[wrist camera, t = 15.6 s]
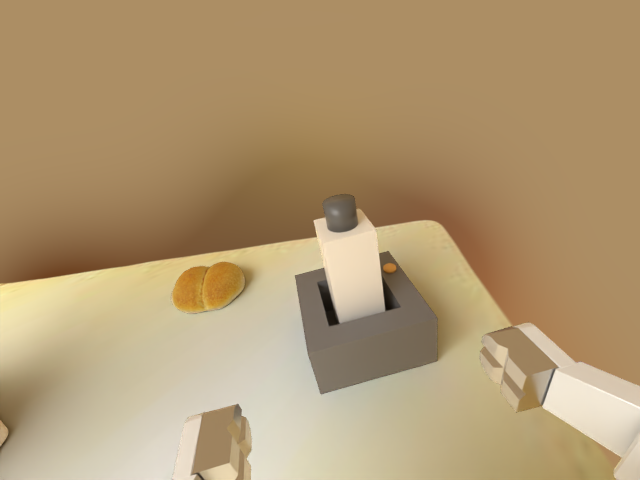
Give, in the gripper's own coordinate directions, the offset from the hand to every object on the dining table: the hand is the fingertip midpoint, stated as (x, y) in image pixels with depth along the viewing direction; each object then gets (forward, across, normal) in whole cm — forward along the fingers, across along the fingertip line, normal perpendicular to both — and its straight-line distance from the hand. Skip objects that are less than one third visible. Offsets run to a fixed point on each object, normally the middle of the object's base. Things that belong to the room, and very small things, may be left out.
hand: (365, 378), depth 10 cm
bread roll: (+27, +14, +15) cm, 34 cm away
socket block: (+14, -3, +14) cm, 20 cm away
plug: (+14, -3, +13) cm, 19 cm away
